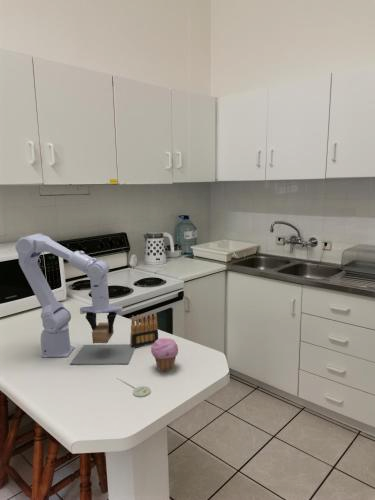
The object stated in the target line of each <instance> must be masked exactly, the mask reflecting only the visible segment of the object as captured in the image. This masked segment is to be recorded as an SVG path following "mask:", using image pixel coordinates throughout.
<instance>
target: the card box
mask: <svg viewBox="0 0 375 500" xmlns="http://www.w3.org/2000/svg"><path fill="white" fill-rule="evenodd" d="M114 333H115V331H114V330H113V331H112V333H110V334H109V324H108V322H99V323H97V326H96V328H95V329H94V330H92V331H91V337H92V339H91V340H92V344H107V343H109V341H110V340H111V338H112V336H113V335H114Z"/></svg>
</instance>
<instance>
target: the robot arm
mask: <svg viewBox="0 0 375 500" xmlns="http://www.w3.org/2000/svg"><path fill="white" fill-rule="evenodd" d="M14 249H15V251H16V253H17V254H18V255H17V256H18V264H19V266H20V269H21V270H22V273H23V274H24V277H25V278H26V280H27V282H28V284H29V286H30V287H31V289H32V292H33V294H34V295H35V297H36V299H37V301H38V303H39V305H40V307H41V311H40V318H41V321H42V327H43V330H42V331H41V334H40V346H41V358H68V356H69V355H70V354H71V353H72V351H73V350H74V349H75V346H74V345H71V341H70V339H71V338H70V329H69V325H70V324H69V323H70V321H71V319H72V315H71V312H70V310H68V308H66V307H65V306H64V303H62V302H60V301H58V300H57V298H56V296H55V295H54V292H53V291H52V288H51V286H50V285H49V282H48V280H47V279H46V277H45V275H44V274H43V271H42V269H41V267H40V266H39V264H38V263H39V262H38V261H39V259H40V256H41V254H42V253H45V252H46V253H47V252H48V253H50V254H53V255H54V256H57V257H58V258H62V259H63V260H66V261H67V262H68V264H69V266H70V267H72V268H74V269H77V270H78V271H80V272H82V273H84V274H86V276H87V278H88V279H89V280H90V290H91V291H90V292H91V294H90V295H91V304H92V305H90V306H81V307H80V308H79V314H80V315H84V314H86V315H85V319H86V320H87V322H88V324H89V326H90V327H91V330H92V331H93V330H94V329H95V328H96V326H97V325H98V323H97V314H107V315H106V318H107V319H106V320H107V323H108V324H109V334H110V333H112V331H114V323H115V320H116V317H117V315H118V314H120V315H121V314H122V313H123V306H117V305H111V304H110V299H109V298H110V297H109V296H110V295H109V284H108V283H109V282H108V275H107V274H108V273H109V272H110V266H109V264H108V262H106V260H104V259H97V258H96V257H92V256H89V255H87V254H86V253H85V251H83V250H75V251H72V250H70V249H68V248H67V247H65V246H63V245H61V244H60V243H58V242H57V241H55V240H53V239H52V238H50V237H49V236H48V235H44V234H43V233H40V232H37V233H34V234H31V235H27V236H22V237H20V238H19V239H18V240H17V242H16V245H15V248H14Z"/></svg>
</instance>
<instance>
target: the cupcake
mask: <svg viewBox="0 0 375 500" xmlns="http://www.w3.org/2000/svg"><path fill="white" fill-rule="evenodd" d="M150 350H151V351H150V352H151V354H152V356H153V357H154V359H155V364H156V366H157V367H158V369H159V371H160V372H167V371H170V370H172V369H173V368H174V366H175V363H176V362H175V361H176V357H177V356H178V353H179V347H178V344H177V343H176V341H175V340H174V339H172V338H165V337H164V338H162V337H161V338H158V340H156V341H155V342H154V343H152V344H151V347H150Z"/></svg>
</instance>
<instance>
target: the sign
mask: <svg viewBox="0 0 375 500" xmlns="http://www.w3.org/2000/svg"><path fill="white" fill-rule="evenodd" d="M116 379H117V380H119V381H121V382H122V383H124V384H126V385H127V386H129V387H131V388H132V389H133V390H132V394H133V396H134V397H136V398H146V397H148V396H149V395H150V394H151V393H152V389H151V387H149V386H146V385H142V386H137V387H134V386H133V385H131V384H129V383H127V382H125V381H124V380H122V379H120V378H118V377H117V378H116Z"/></svg>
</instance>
